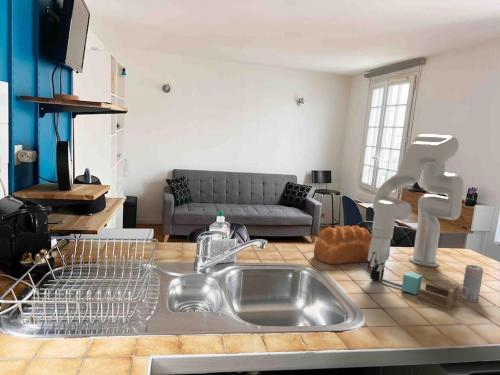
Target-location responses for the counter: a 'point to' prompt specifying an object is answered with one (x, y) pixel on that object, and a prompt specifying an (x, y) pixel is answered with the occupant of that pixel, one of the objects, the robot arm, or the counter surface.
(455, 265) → the counter surface
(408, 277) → the teal block with rod
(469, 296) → the energy drink
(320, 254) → the bread
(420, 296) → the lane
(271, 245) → the counter surface
